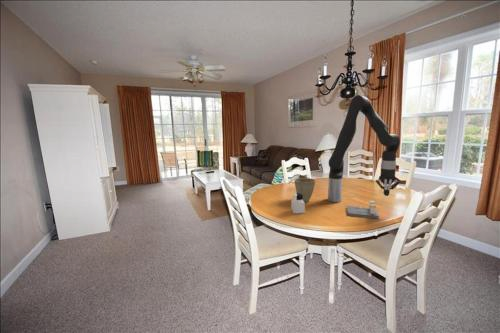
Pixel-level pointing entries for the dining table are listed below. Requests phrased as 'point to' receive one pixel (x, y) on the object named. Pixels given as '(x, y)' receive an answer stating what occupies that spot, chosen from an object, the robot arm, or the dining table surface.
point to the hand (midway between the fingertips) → (386, 195)
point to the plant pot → (305, 187)
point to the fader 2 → (372, 208)
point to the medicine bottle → (298, 203)
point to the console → (361, 212)
